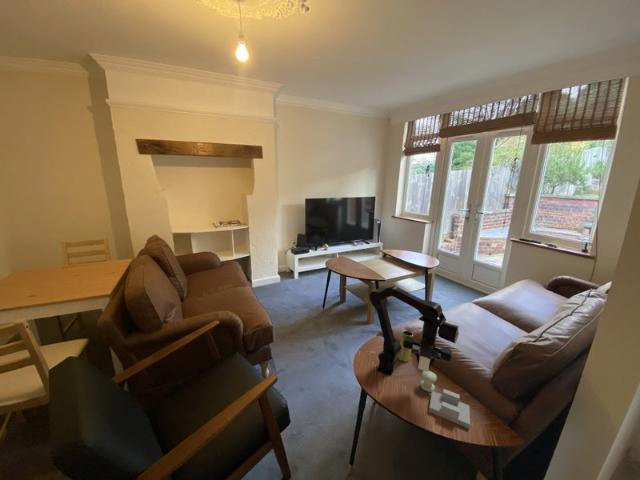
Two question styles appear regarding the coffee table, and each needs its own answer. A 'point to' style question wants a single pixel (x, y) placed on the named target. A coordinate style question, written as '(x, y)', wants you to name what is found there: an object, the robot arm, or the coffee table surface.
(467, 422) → the notch board
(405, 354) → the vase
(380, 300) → the robot arm
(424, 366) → the block
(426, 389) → the spool
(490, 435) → the coffee table surface
